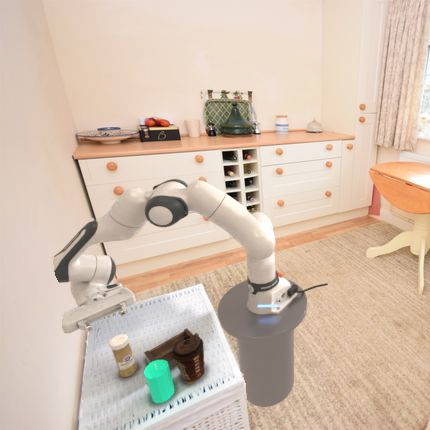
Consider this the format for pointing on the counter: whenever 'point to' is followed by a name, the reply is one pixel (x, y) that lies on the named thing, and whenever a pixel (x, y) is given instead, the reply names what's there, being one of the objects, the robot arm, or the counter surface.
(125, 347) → the sprinkles bottle
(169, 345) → the spice rack
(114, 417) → the counter surface
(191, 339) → the coffee cup
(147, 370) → the candle
